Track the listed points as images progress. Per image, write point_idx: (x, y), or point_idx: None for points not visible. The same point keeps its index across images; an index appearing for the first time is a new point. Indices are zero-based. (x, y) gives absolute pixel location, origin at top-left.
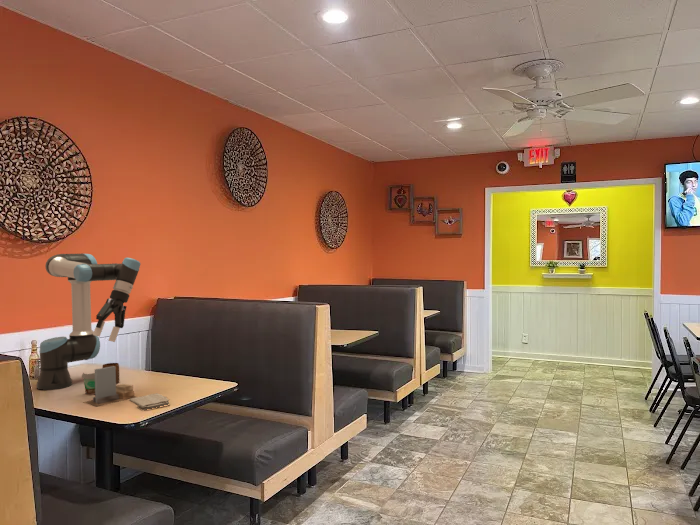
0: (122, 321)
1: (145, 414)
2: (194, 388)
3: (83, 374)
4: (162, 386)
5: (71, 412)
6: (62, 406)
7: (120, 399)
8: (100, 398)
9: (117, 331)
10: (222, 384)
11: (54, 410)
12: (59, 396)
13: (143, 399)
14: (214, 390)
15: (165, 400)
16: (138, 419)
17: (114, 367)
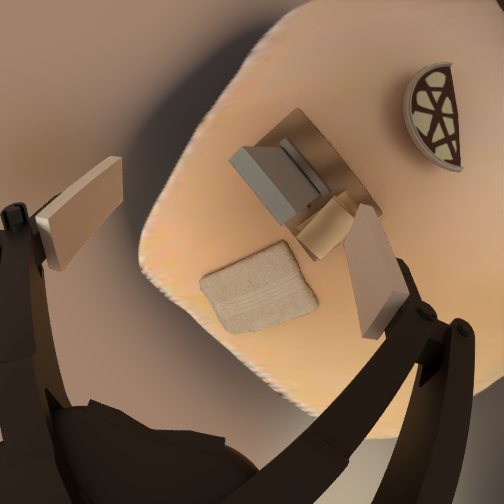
0: (411, 401)
1: (179, 282)
2: None
3: (431, 66)
4: (446, 317)
5: (225, 106)
6: (294, 57)
7: (300, 215)
8: None
9: (356, 303)
10: (381, 429)
11: (256, 54)
12: (419, 19)
13: (249, 282)
14: None
15: (231, 327)
16: (153, 270)
17: (278, 221)
